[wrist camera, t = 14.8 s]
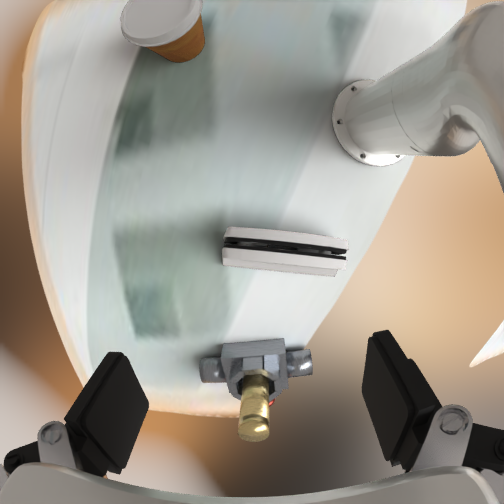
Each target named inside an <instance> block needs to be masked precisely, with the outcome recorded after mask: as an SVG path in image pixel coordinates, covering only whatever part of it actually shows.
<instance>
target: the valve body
mask: <svg viewBox="0 0 504 504" xmlns="http://www.w3.org/2000/svg"><path fill="white" fill-rule="evenodd" d="M253 374H263V375H264V376H266V377H268V378H269V407H270V406H271V405H272V404H273V403H274V401H275V397H277V396H278V395H279V394H281V392H282V389H288V378H290V377H298V376H306V375H312V358H311V352H310V349H306V350H299V351H290V352H286V351H285V343H284V338H282V339H273V340H263V341H251V342H239V343H224V344H223V348H222V353H221V357H216V358H201V360H200V377H201V380H202V382H203V383H222V382H227V386H228V389H229V393H231V394H232V395H233V397H235V398H237V399H239V400H241V397H242V386H243V376H244V375H253Z"/></svg>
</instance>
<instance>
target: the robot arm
mask: <svg viewBox="0 0 504 504" xmlns="http://www.w3.org/2000/svg"><path fill="white" fill-rule="evenodd" d="M351 89H353V91H352V90H351ZM337 121H339V122H340V124H337ZM332 122H333V127H334V131H335V134H336V136H337V138H338V141H339V142H340V144H341V145H342V147H343V148H344V149H345V150H346V151H347V152H348V153H349V154H350V155H351V156H352V157H354V158H355V159H356V160H358V161H360V162H362V163H364V164H368V165H371V166H387V165H391V164H394V163H396V162H398V161H399V160H401V159H402V158H403V157H404V156H405V155H418V156H419V155H420V156H421V155H422V156H457V155H461V154H464V153H466V152H468V151H469V150H471V149H472V148H473V147H474V146H475V145H476V144H477V143H478V142H479V140H481V142H482V144H483V146H484V148H485V150H486V152H487V154H488V157H489V159H490V161H491V163H492V164H493V166H494V169H495V171H496V174H497V176H498V179H499V182H500V184H501V187H502V190H503V193H504V2H503V1H494V2H489V3H486V4H483V5H481V6H479V7H477V8H475V9H473V10H471V11H470V12H469V13H467V14H466V15H465V16H463V17H462V18H461V19H460V20H459V21H458V22H457V23H456V24H455V25H454V26H453V27H452V28H451V29H450V30H449V31H448V32H447V33H446V34H445V35H444V36H443V37H442V38H441V39H440V40H438V41H437V42H436V43H435V44H434V45H432V46H431V47H430V48H428V49H427V50H425V51H423V52H422V53H420V54H419V55H417V56H416V57H414V58H413V59H411V60H409V61H408V62H406V63H404V64H403V65H401V66H399V67H398V68H396V69H394V70H393V71H391V72H390V73H388V74H386V75H385V76H383V77H382V78H380V79H378V80H377V81H375V80H360V81H356V82H354V83H352V84H350V85H348V86H347V87H346V88H344V89H343V90H342V91H341V93H340V94H339V95H338V97H337V98H336V100H335V103H334V106H333V112H332ZM360 154H362V158H361V157H360ZM395 155H396V156H395ZM362 394H363V397H364V400H365V403H366V406H367V408H368V411H369V414H370V417H371V419H372V422H373V425H374V428H375V431H376V434H377V437H378V440H379V443H380V446H381V448H382V452H383V455H384V458H385V460H386V461H389V460H390V462H391V465H392V467H393V466H396V465H399V464H401V465H402V468H403V469H404V470H405V471H404V473H403V474H400V475H397V476H393V477H389V478H385V479H381V480H377V481H373V482H369V483H365V484H361V485H356V486H351V487H346V488H341V489H336V490H329V491H323V492H317V493H309V494H301V495H290V496H277V497H255V498H254V497H253V498H252V497H251V498H239V497H237V498H236V497H211V496H198V495H189V494H180V493H172V492H166V491H160V490H154V489H149V488H144V487H139V486H134V485H130V484H125V483H121V482H118V481H114V480H110V479H108V478H107V475H106V473H107V470H108V471H109V472H112V473H116V474H120V473H121V471H122V469H124V468H125V467H126V465H127V462H128V460H129V457H130V454H131V452H132V449H133V446H134V444H135V441H136V439H137V436H138V433H139V431H140V428H141V426H142V423H143V421H144V418H145V416H146V413H147V411H148V408H149V402H148V399H147V398H146V396H145V394H144V392H143V390H142V388H141V385H140V383H139V381H138V379H137V377H136V375H135V373H134V371H133V368H132V366H131V364H130V362H129V359H128V358H127V357H126V356H124V354H123V353H121V352H108V353H107V355H106V356H105V357H104V359H103V360H102V362H101V363H100V365H99V366H98V368H97V369H96V370H95V372H94V373H93V375H92V376H91V378H90V379H89V381H88V382H87V384H86V385H85V387H84V388H83V390H82V392H81V393H80V394H79V396H78V397H77V399H76V401H75V402H74V404H73V405H72V407H71V408H70V410H69V411H68V413H67V415H66V416H65V418H64V420H65V421H66V424H65V425H64V424H63V423H61V422H59V421H52V422H48V423H46V424H45V425H44V426H42V427H41V429H40V430H39V432H38V438H37V439H38V441H36V442H33V443H30V444H28V445H25V446H22V447H19V448H17V449H14V450H12V451H10V452H9V453H8V454H7V455H6V457H5V459H4V466H3V465H2V464H0V504H504V430H501V429H496V428H492V427H487V426H483V425H479V424H475V423H472V422H473V419H472V416H471V414H470V412H469V411H468V410H467V409H466V408H464V407H463V406H460V405H453V404H451V405H446V406H444V407H442V405H441V404H440V402H439V400H438V399H437V397H436V396H435V394H434V392H433V390H432V389H431V387H430V386H429V384H428V382H427V381H426V379H425V377H424V376H423V374H422V373H421V371H420V370H419V368H418V366H417V365H416V363H415V362H414V361H413V360H412V359H407V357H406V356H405V354H404V352H403V351H402V349H401V348H400V346H399V345H398V343H397V342H396V340H395V339H394V337H393V336H392V334H391V333H390V331H389V330H384V331H379V332H374V333H373V336H372V337H369V339H368V346H367V354H366V362H365V370H364V376H363V383H362Z"/></svg>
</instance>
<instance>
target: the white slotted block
mask: <svg viewBox="0 0 504 504" xmlns="http://www.w3.org/2000/svg"><path fill="white" fill-rule="evenodd" d="M223 240H225V243H231V244H237V243H238V245H230V244H226V245H225V246H224V248H223V249H222V259H223V266H231V267H241V268H250V269H260V270H270V271H280V272H290V273H300V274H311V275H322V276H333V277H335V275H336V273H337V271H338V269H340V270H345V269H346V265H347V261H348V260H346V257H344V256H337V255H340V254H345V253H346V250H349V248H348V240H346V239H340V238H334V237H328V236H321V235H314V234H307V233H299V232H290V231H281V230H270V229H259V228H245V227H228V228H227V230H226V232H225V235H224V238H223ZM269 245H278V246H288V247H296V249H297V251H294V250H285V249H275V248H268V246H269ZM331 254H335V255H331Z"/></svg>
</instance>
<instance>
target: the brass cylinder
mask: <svg viewBox="0 0 504 504" xmlns="http://www.w3.org/2000/svg"><path fill="white" fill-rule="evenodd" d="M238 435H239V437H241V438H242V439H244V440H247V441H252V442H256V441H261V440H264V439H266V438H267V437H268V436H269V378H268V377H266V376H264V375H263V374H253V375H244V376H243V386H242V397H241V407H240V418H239V428H238Z"/></svg>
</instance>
